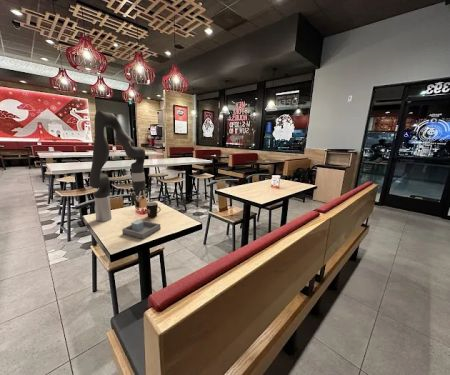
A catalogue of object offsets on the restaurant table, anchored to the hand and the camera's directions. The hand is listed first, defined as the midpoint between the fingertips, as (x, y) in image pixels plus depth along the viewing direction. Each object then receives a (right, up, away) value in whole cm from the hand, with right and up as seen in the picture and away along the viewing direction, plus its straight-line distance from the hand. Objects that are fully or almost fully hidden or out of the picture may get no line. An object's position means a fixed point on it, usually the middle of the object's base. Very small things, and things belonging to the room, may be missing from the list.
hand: (141, 206), depth 135 cm
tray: (0, -17, +1) cm, 16 cm away
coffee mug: (-1, -11, +26) cm, 28 cm away
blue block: (-3, -15, +2) cm, 16 cm away
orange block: (0, -1, 0) cm, 1 cm away
